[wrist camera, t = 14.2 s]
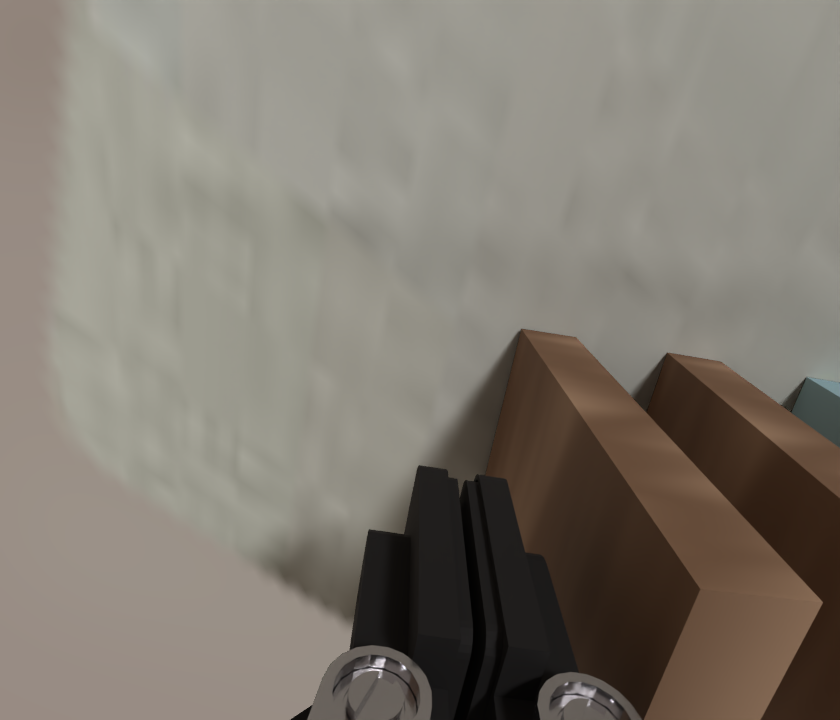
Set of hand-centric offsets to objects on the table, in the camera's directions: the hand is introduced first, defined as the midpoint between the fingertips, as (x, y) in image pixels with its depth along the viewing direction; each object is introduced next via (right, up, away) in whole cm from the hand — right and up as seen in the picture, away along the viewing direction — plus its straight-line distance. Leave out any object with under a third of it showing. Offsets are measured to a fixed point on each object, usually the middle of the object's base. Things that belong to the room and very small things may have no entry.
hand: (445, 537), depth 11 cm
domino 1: (+3, +2, +6) cm, 7 cm away
